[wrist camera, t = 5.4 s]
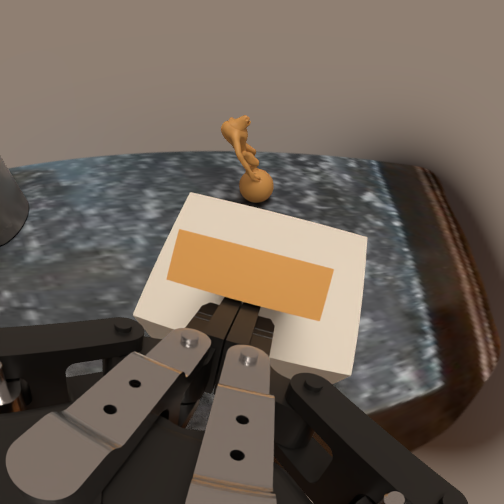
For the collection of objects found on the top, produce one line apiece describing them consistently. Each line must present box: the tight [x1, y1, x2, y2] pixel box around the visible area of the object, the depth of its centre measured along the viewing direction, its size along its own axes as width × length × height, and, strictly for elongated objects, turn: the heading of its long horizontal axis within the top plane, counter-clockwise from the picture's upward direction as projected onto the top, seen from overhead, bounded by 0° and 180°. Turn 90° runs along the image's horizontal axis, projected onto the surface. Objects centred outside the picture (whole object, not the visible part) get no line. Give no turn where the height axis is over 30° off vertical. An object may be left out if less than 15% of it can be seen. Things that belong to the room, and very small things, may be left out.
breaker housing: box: [133, 192, 367, 384], centre depth 27 cm, size 12×16×9 cm
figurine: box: [221, 115, 273, 203], centre depth 33 cm, size 8×6×12 cm
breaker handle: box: [166, 229, 334, 321], centre depth 17 cm, size 2×6×12 cm
